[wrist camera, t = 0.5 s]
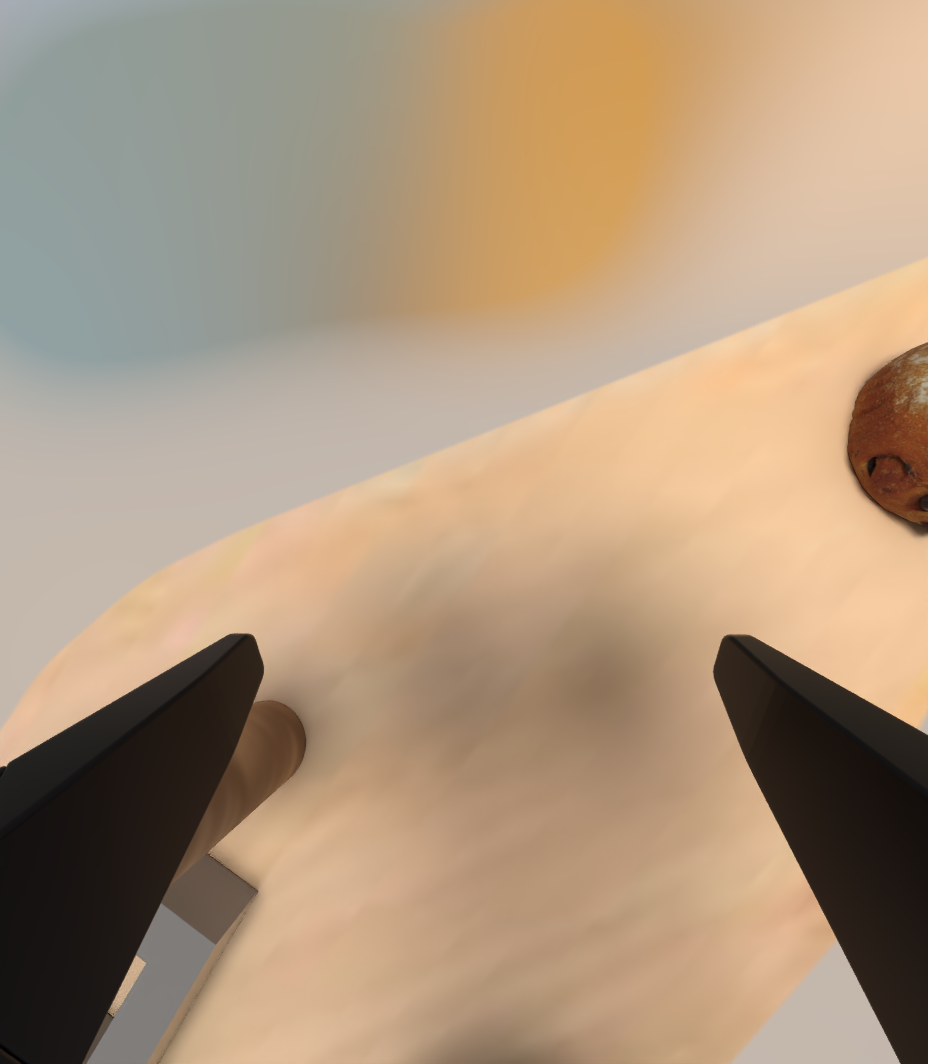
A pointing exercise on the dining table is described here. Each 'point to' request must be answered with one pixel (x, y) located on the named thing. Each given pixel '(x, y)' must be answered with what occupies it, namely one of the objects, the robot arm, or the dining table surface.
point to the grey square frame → (174, 963)
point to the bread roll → (894, 436)
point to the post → (250, 775)
